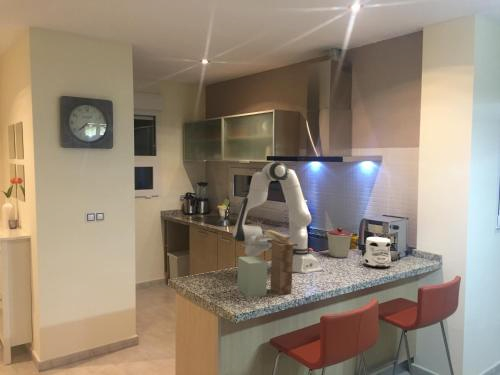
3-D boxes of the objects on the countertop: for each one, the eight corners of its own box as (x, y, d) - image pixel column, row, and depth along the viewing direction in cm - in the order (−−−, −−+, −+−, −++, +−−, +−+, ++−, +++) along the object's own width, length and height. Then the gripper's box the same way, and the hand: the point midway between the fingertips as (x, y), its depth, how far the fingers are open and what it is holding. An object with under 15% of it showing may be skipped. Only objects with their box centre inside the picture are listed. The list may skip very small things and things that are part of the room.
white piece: (379, 270, 267) (381, 242, 266) (358, 264, 281) (359, 238, 280) (396, 267, 277) (397, 240, 276) (374, 261, 291) (375, 235, 290)
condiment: (356, 250, 326) (357, 234, 325) (345, 248, 330) (346, 233, 329) (359, 248, 332) (359, 233, 331) (348, 247, 336) (349, 232, 336)
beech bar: (271, 236, 232) (271, 230, 232) (289, 243, 214) (289, 236, 214) (266, 236, 231) (266, 230, 231) (284, 243, 213) (284, 237, 213)
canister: (347, 260, 291) (348, 230, 290) (322, 256, 300) (323, 227, 299) (354, 255, 307) (355, 227, 305) (330, 252, 316) (331, 224, 314)
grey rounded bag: (382, 254, 313) (374, 259, 297) (382, 243, 313) (374, 248, 296) (403, 257, 305) (396, 263, 289) (403, 246, 305) (396, 251, 288)
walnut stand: (282, 286, 228) (283, 238, 226) (295, 294, 216) (297, 244, 214) (265, 288, 224) (267, 239, 222) (278, 296, 211) (280, 245, 210)
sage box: (254, 287, 225) (255, 255, 224) (266, 295, 213) (267, 262, 211) (237, 289, 221) (238, 257, 220) (248, 297, 208) (249, 263, 207)
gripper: (243, 239, 238) (252, 230, 226) (275, 237, 246) (285, 228, 235) (245, 250, 235) (254, 241, 224) (277, 247, 244) (288, 239, 232)
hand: (270, 235), depth 229 cm, fingers open, 8 cm apart
